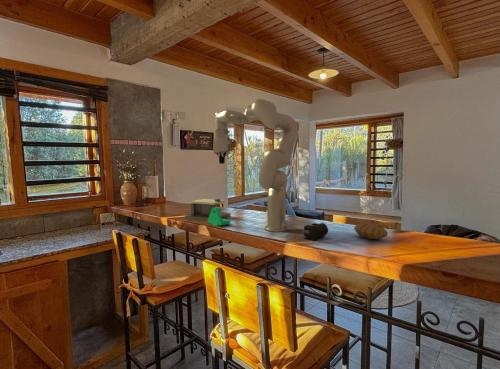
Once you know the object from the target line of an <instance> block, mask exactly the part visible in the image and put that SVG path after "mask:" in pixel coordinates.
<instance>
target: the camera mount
mask: <svg viewBox="0 0 500 369" xmlns="http://www.w3.org/2000/svg"><path fill="white" fill-rule="evenodd" d="M220 213H222V209H221V207H219V206H217V207H216V206H215V208H212V210H211V213H210V215H209V218H208V221H207V223H209V224H211V225H212V226H215V227H216V226H217V227H219V226H225V225H229V224H231V220H230V219H226V218H224V219H222V218H221V216H220ZM218 225H219V226H218Z"/></svg>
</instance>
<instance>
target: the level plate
mask: <svg viewBox="0 0 500 369" xmlns="http://www.w3.org/2000/svg"><path fill="white" fill-rule="evenodd" d="M191 203H197V204H210V205H215V206H216V205H218V204H223V203H226V200H225V199H221V198H211V199H210V198H200V199H195V200H191V202H190V204H191Z"/></svg>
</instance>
